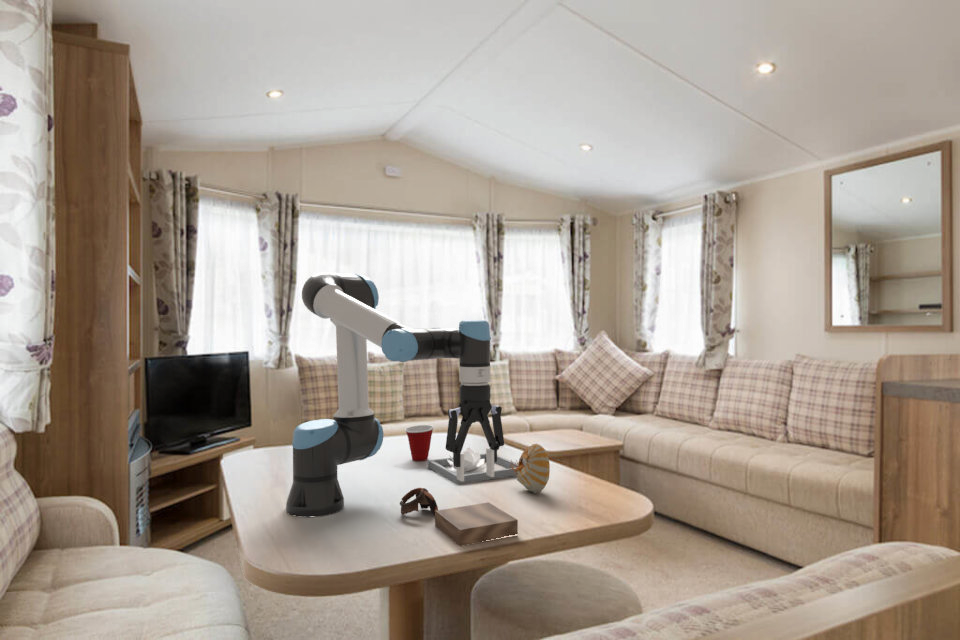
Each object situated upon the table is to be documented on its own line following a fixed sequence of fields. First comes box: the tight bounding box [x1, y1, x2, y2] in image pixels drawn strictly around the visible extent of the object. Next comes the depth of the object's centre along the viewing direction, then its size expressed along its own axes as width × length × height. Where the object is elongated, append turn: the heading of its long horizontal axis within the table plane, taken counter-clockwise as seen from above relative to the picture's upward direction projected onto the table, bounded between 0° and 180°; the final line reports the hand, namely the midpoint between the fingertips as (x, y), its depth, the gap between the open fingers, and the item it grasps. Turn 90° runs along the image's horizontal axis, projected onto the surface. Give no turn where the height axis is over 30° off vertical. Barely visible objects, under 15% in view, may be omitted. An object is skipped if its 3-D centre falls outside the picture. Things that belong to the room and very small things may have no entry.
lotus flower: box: [447, 446, 486, 475], centre depth 199 cm, size 14×15×9 cm
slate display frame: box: [427, 452, 518, 485], centre depth 202 cm, size 25×24×2 cm
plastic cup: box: [404, 424, 435, 462], centre depth 219 cm, size 11×11×12 cm
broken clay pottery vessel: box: [399, 487, 439, 515], centre depth 156 cm, size 12×9×8 cm
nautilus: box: [510, 443, 551, 494], centre depth 179 cm, size 8×22×15 cm, turn 24°
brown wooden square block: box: [434, 502, 519, 547], centre depth 143 cm, size 15×15×5 cm
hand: (475, 477), depth 143 cm, fingers open, 7 cm apart
